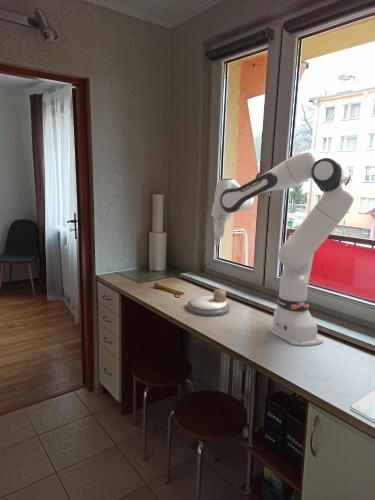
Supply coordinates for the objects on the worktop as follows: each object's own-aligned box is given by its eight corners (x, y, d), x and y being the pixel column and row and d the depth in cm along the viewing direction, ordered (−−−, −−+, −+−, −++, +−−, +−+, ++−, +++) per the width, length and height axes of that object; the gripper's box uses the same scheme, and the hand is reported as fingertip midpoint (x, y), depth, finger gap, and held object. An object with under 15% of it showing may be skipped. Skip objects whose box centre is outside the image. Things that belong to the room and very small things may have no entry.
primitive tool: (185, 294, 199) (185, 287, 199) (179, 296, 195) (180, 290, 194) (156, 287, 209) (156, 281, 208) (150, 290, 204) (150, 283, 204)
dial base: (235, 314, 170) (236, 310, 170) (194, 317, 165) (194, 312, 164) (220, 300, 189) (220, 296, 189) (182, 303, 184) (182, 298, 183)
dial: (231, 309, 171) (232, 295, 170) (196, 311, 166) (197, 297, 165) (218, 297, 187) (219, 285, 186) (186, 299, 182) (187, 286, 181)
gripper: (229, 218, 160) (224, 249, 164) (226, 211, 180) (221, 238, 184) (215, 216, 160) (210, 246, 164) (213, 209, 180) (209, 236, 184)
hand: (216, 242), depth 174 cm, fingers open, 8 cm apart
